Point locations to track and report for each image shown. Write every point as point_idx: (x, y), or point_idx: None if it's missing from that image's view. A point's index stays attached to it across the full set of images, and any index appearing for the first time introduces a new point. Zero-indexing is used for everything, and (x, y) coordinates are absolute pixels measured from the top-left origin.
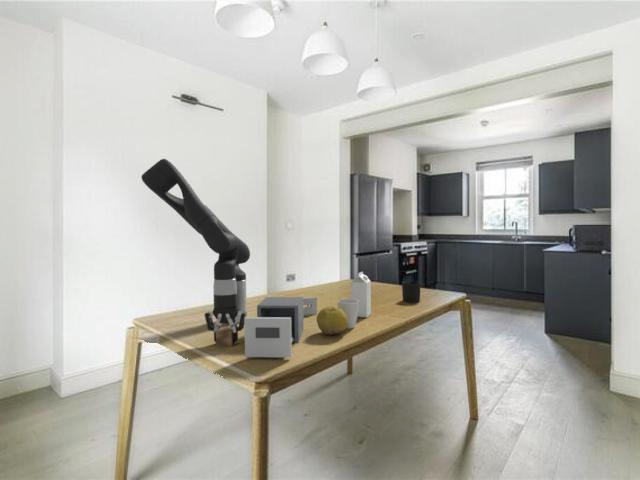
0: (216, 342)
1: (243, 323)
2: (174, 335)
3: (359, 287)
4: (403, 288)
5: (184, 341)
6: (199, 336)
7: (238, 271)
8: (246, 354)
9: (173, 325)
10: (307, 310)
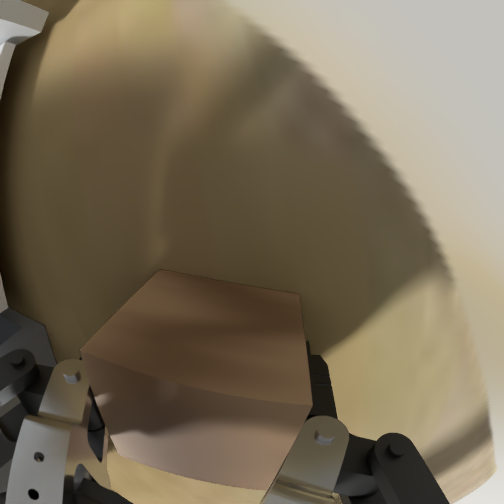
0: (297, 313)
1: (6, 420)
2: (479, 435)
3: None
4: None
5: (477, 387)
6: None
7: None
8: (34, 11)
9: (446, 487)
10: None
